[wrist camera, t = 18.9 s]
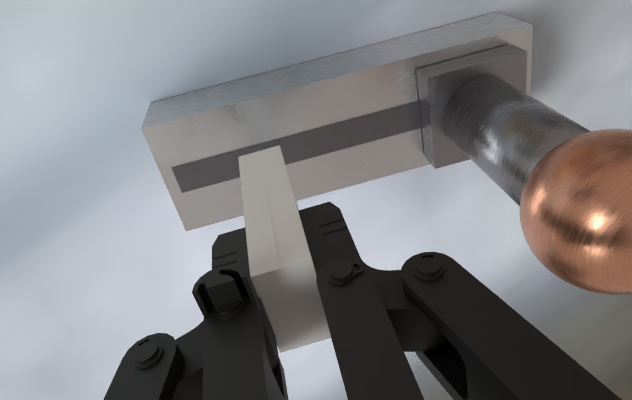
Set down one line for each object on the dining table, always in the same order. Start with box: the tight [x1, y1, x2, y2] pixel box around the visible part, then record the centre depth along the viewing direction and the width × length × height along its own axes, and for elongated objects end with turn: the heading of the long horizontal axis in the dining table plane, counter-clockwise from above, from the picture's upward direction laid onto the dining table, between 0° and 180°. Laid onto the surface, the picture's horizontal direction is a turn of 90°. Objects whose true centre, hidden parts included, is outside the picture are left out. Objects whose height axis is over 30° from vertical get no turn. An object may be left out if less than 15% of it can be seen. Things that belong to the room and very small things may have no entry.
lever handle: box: [416, 44, 632, 294], centre depth 16 cm, size 4×4×11 cm
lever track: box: [141, 12, 533, 231], centre depth 22 cm, size 5×16×3 cm, turn 102°
